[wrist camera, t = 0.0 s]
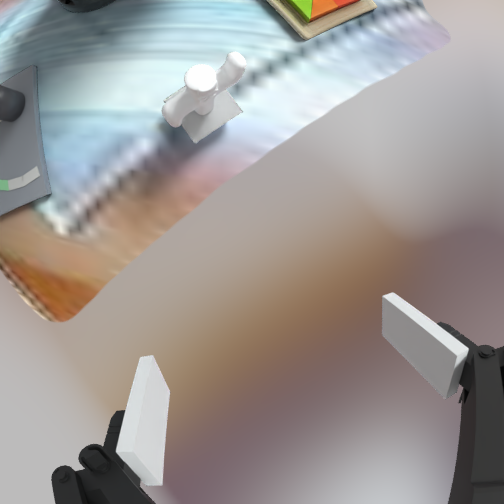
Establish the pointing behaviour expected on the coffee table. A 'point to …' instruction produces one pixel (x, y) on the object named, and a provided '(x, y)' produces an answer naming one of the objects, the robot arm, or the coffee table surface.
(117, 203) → the coffee table surface
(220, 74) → the white faucet
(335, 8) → the wooden puzzle
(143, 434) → the robot arm
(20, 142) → the tuner board
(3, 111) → the white and grey lever
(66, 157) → the coffee table surface
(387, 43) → the coffee table surface
